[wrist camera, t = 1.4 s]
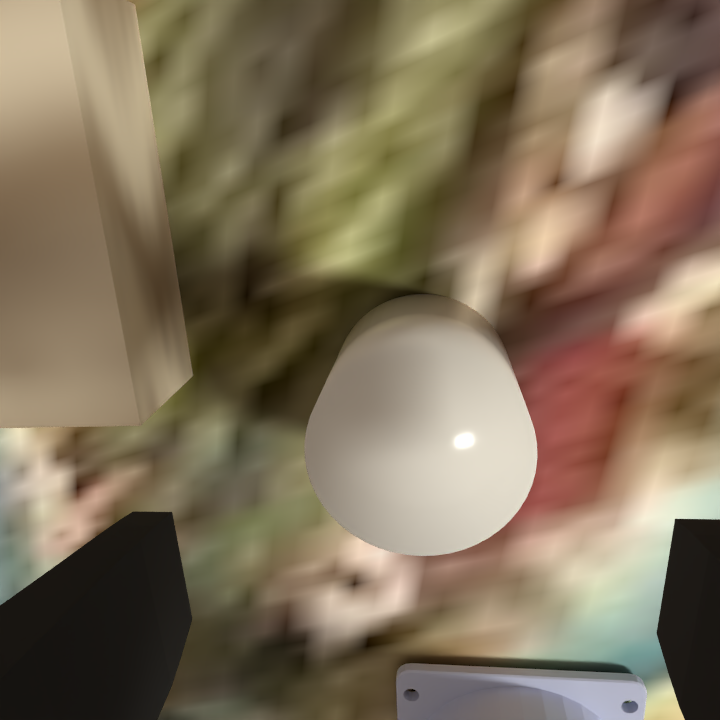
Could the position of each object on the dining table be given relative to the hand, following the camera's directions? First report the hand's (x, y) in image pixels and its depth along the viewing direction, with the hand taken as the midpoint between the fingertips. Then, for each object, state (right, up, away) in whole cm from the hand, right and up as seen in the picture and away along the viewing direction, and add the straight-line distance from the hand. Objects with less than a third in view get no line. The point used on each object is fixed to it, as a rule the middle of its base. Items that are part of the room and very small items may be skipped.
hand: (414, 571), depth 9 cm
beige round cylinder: (+1, +3, +9) cm, 10 cm away
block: (-11, +7, +9) cm, 16 cm away
